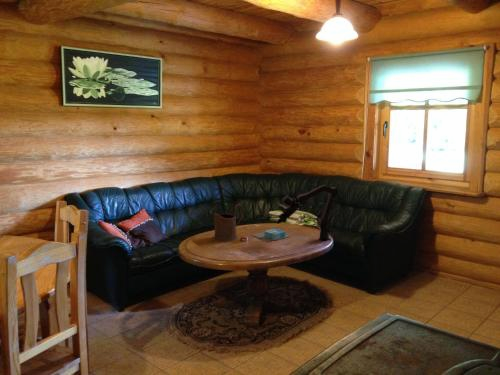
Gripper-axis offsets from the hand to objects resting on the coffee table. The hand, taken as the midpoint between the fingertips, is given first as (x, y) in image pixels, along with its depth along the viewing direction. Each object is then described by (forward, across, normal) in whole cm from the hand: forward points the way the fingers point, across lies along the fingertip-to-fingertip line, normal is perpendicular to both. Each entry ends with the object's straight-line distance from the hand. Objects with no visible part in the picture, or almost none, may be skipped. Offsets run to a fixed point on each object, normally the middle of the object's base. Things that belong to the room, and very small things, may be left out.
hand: (277, 223), depth 320 cm
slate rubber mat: (+14, -10, +4) cm, 18 cm away
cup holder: (+35, +4, -16) cm, 39 cm away
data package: (+6, -3, +9) cm, 11 cm away
